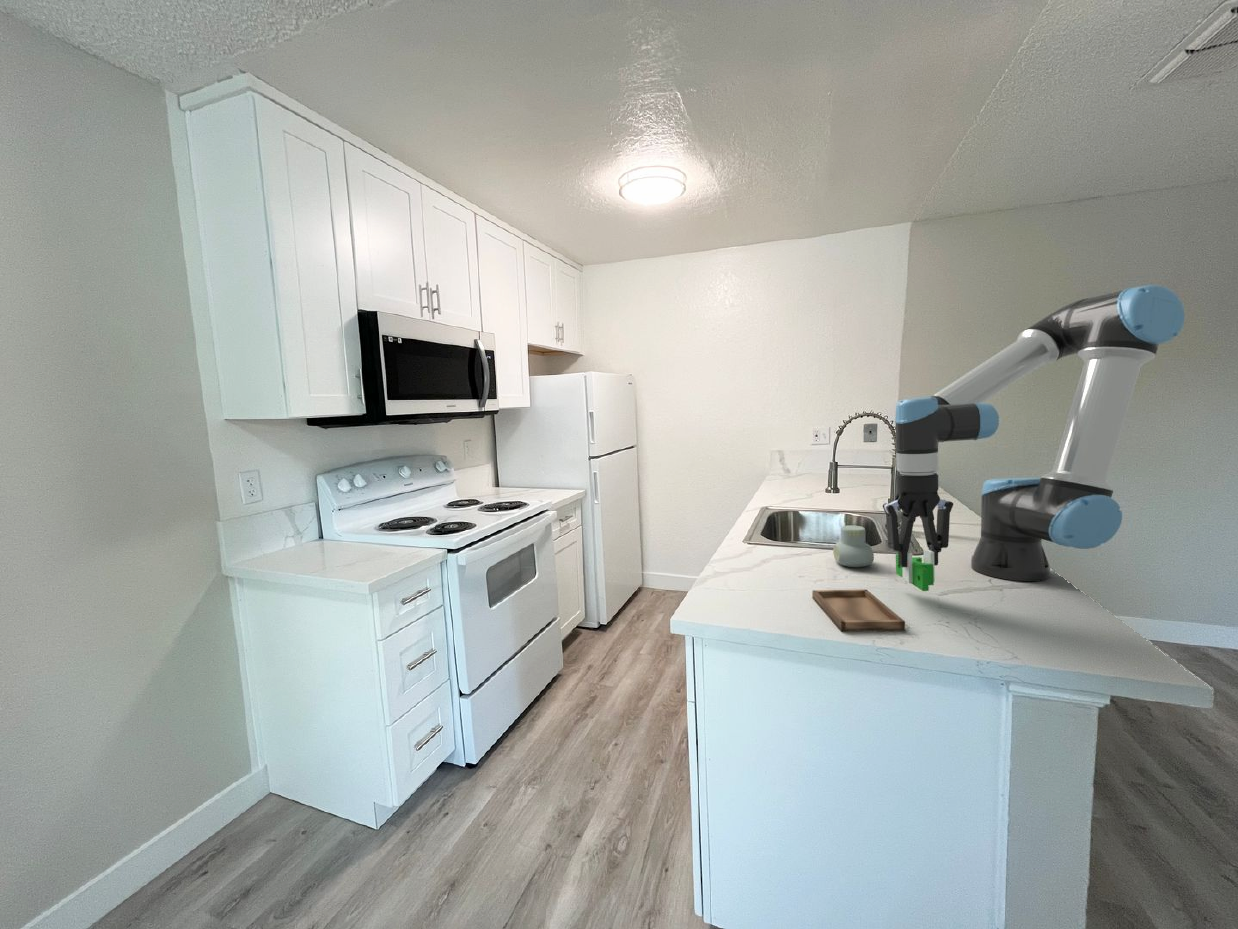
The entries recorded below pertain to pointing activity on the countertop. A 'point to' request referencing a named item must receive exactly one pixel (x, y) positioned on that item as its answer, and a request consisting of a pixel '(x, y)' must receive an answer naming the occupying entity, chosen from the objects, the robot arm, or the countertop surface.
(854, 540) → the air freshener
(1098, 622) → the countertop surface
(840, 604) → the tray
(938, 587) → the countertop surface
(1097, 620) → the countertop surface
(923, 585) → the pipe clamp
